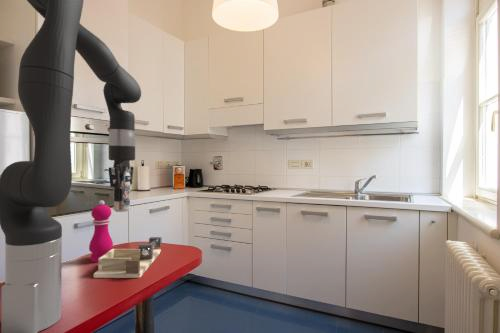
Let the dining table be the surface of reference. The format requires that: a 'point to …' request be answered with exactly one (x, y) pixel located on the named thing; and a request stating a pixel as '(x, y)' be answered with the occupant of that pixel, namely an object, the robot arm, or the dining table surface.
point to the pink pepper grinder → (100, 232)
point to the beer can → (124, 196)
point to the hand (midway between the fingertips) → (121, 199)
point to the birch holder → (126, 262)
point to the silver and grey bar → (156, 243)
